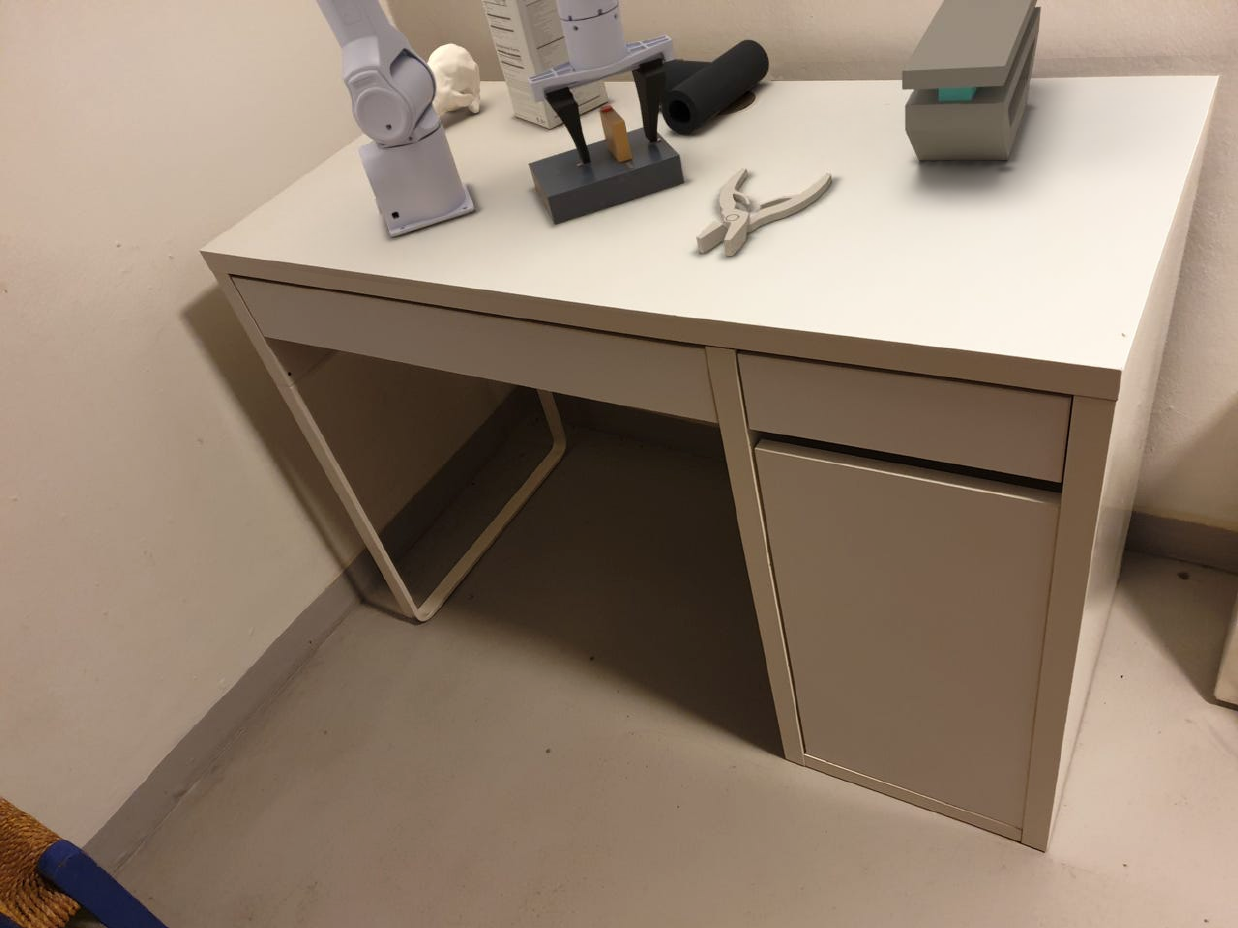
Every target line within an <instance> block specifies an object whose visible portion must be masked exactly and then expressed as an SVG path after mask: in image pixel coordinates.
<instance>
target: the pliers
mask: <svg viewBox="0 0 1238 928" xmlns="http://www.w3.org/2000/svg"><path fill="white" fill-rule="evenodd" d="M747 177H748V168H744V167H743V168H741V169H740V170H738V171H737V172H735V173H734V174H733V175H731V176H730V178H729V179H728V180H727V181H726V182H725V183H724V185H723V187H722V189H721V190H720V193H719V197H718V198H719V199H718V202H719V208H720V213H721V219H722V221H723V222H718V221H715V220H714V221H711V223H710V224H709V225H708V226H706V227H705V228H704V229H703V230H702V231H701V232H700V233H699V234H698V235H696V243H697V248H698V249H697V251H698V253H701V254H705V253H707V252H708V251H710V250H711V249H713V248H714V247H716V246H717V245H719V244H720V243H722V242H723V243H724V249H725V256H726V257H734V255H735V254H736V253H737V252H738V251H739V250H740V248H741V247H742V245H743V244H744V243H745V242H746V240H747V233H752V232H754V231H755V230H756V229H758V228H759V227H762V226H764V225H766V224H768V223H772V222H774V221H777V220H781V219H785V218H786V217H789V216H791V215H794V214H796V213H797V212H800V211H802V210H803V209H805V208H807V207H808V206H810V205H811V204H812V203H814V202H815V201H817V200H818V199H819V198H820V197H821V196H822V195H823V194H824V193H825V192H826V191H827V190H828V188H829V186H830V185H831V182H832V173H830V172H827V173H825V174H823V175H822V176H821V178H819V180H817V181H816V182H815V183H813V184H812V185H811V186H809V187H808V188H806V189H805V190H804V191H802V192H801V193H798V194H793V195H785V196H780V197H775V198H773V199H769V200H766V201H765V202H762V203H759V211H757V212H756V213H753V215H751V216H750V211H751V204H750V200H749V198H748V196H747V195H746V194H744V193H743V192H740V191H738V190H739V188H740V187H741V185H742V183H743V182H744V181H745V179H746V178H747ZM737 202H740V203H742V204H743V205H744V206H745V207H746V210H747V211H744V210H741V209H740V206H739V205H738V204H737Z"/></svg>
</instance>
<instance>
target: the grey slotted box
mask: <svg viewBox="0 0 1238 928" xmlns="http://www.w3.org/2000/svg"><path fill="white" fill-rule="evenodd" d="M1037 2H1038V0H943V1H942V3H941V5H940V6H939V8H938V10H937V11H936V12H935V14H934V16H933V18H932V19H931V21H930V23H929V25H928V26H927V28H926V30H925V31H924V33H923V35H922V37H921V38H920V40H919V41H918V43H917V45H916V47H915V49H914V50H913V52H912V53H911V55H910V57H909V58H908V60H907V62H906V63H905V65H904V67H903V69H902V71H901V77H902V78H901V90H902V91H904V90H912V92H911V94H910V96H909V97H908V99H907V101H906V103H905V105H904V131H905V133H906V135H907V137H908V140H909V142H910V144H911V146H912V148H913V151H914V153H915V155H916V157H917V160H918V161H1008V160H1009V158H1010V155H1011V152H1012V149H1013V146H1014V143H1015V141H1016V138H1017V134H1018V132H1019V130H1020V126H1021V124H1022V120H1023V119H1024V115H1025V112H1026V109H1027V105H1028V97H1029V93H1030V92H1029V91H1030V85H1031V79H1032V73H1033V67H1034V61H1035V56H1036V55H1035V54H1036V51H1037V49H1036V48H1037V43H1038V38H1039V33H1040V21H1041V10H1042V6H1036V5H1037Z"/></svg>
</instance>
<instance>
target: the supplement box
mask: <svg viewBox="0 0 1238 928" xmlns="http://www.w3.org/2000/svg"><path fill="white" fill-rule="evenodd" d="M481 3H482V7H483V10H484V14H485V17H486V20H487V24H488V27H489V31H490V34H491V37H492V40H493V45H494V48H495V51H496V54H497V57H498V61H499V64H500V68H501V72H502V76H503V78H504V81H505V84H506V85H505V86H506V88H507V91H508V95H509V98H510V103H511V106H512V109H513V112H514V116H515V117H516V118H518V119H521V120H524V121H527V122H530V123H533V124H535V125H537V126H540V127H544V128H546V129H549V130H552V129H553V128H556V127H558V126H560V125H562V124H563V122H562V121H561V119H560V118H559V116H558V115H557V114H556V112H555V111H554V110H553V109H552V107H551V106H550V104H549V103H548V102H547V100H546V99H545V100H543V101H540V102H537V103H536V102H535V101H534V100H533V98H532V96H531V92H530V88H529V85H528V81H527V78H528V77H531V76H534V75H537V74H539V73H542V72H544V71H547V70H549V69H551V68H553V67H556V66H558V65H560V64H562V63H565V62H567V61H569V55H568V51H567V47H566V42H565V38H564V34H563V30H562V25H561V21H560V17H559V12H558V8H557V4H556V0H481ZM570 92H571V93H573V97H574V99H575V101H576V102H577V103H578V108H579V114H580V115H583V114H584V113H586V112H589V111H591V110H593V109H594V108H597V107H599V106H601V105H603V104H605V103H607V102H609V98H608V93H607V88H606V85H605V79H603V80H600V81H596V82H593V83H590V84H587V85H584V86H580V87H577V88H574V89H571V90H570Z"/></svg>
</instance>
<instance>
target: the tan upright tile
mask: <svg viewBox="0 0 1238 928" xmlns="http://www.w3.org/2000/svg"><path fill="white" fill-rule="evenodd" d="M599 108H600V109H599V110H598V112H599V117H600V122H601V126H602V131H603V135H604V139H605V140H606V145H607V147H608V149H609V150H610V151H611V153H612V154H613V155H614V156H615V158H616V159H617V160H618V161H619V162H623V161H626V160H629V159H632V156H631V151H630V146H629V141H628V136H627V132H628V131H627V126H626V121H625V120H624V118H623V117H622V116H621V115H620V114H619V113H618V112H617V110H616V109H615V108H614V107H613V106H612V105H611V104H608V105H605V106H601V107H599Z"/></svg>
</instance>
